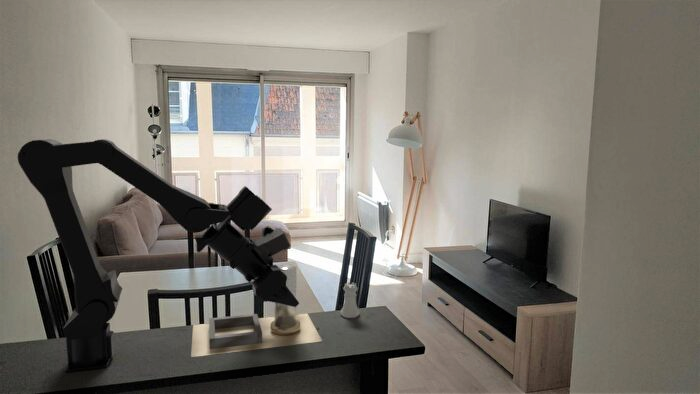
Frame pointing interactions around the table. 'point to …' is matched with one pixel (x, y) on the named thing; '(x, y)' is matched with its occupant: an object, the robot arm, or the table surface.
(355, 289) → the rook chess piece
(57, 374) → the table surface
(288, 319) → the grey rounded piece
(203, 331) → the carrier board
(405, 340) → the table surface
